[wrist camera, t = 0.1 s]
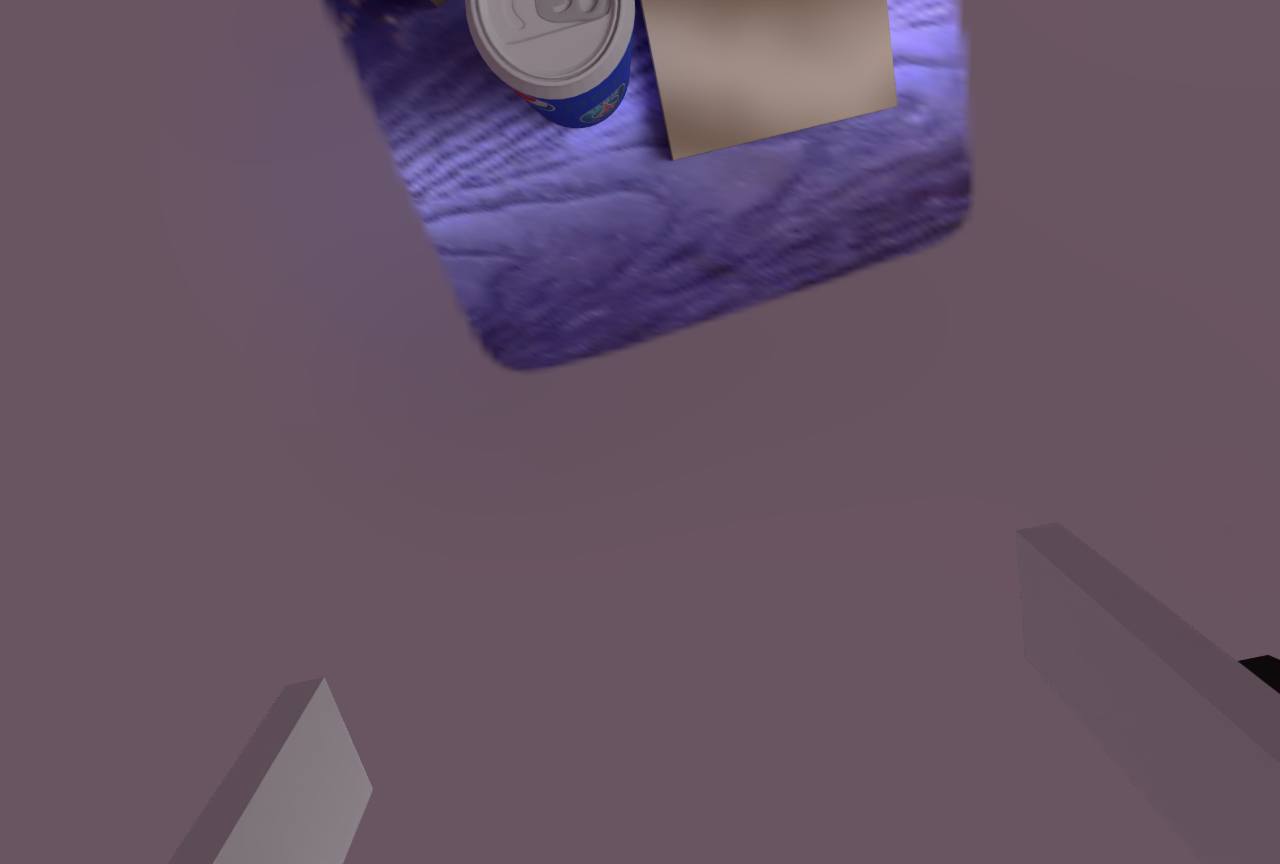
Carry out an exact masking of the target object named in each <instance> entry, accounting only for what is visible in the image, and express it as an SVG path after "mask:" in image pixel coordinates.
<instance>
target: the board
mask: <svg viewBox="0 0 1280 864" xmlns="http://www.w3.org/2000/svg"><path fill="white" fill-rule="evenodd" d="M640 5H641V10H642V15H643V20H644V25H645V30H646V35H647V40H648V45H649V50H650V55H651V60H652V65H653V70H654V75H655V80H656V85H657V90H658V95H659V100H660V105H661V109H662V114H663V119H664V124H665V129H666V134H667V139H668V144H669V149H670V154H671V159H672V161H673V160H677V159H681V158H685V157H690V156H694V155H698V154H702V153H706V152H710V151H714V150H719V149H723V148H727V147H731V146H735V145H739V144H744V143H748V142H752V141H756V140H760V139H764V138H768V137H773V136H777V135H781V134H785V133H789V132H793V131H797V130H802V129H806V128H810V127H814V126H818V125H822V124H827V123H831V122H835V121H839V120H843V119H847V118H851V117H856V116H860V115H864V114H868V113H872V112H876V111H881V110H885V109H889V108H893V107H896V106H898V104H897V95H896V85H895V76H894V66H893V57H892V48H891V38H890V29H889V19H888V10H887V1H886V0H640Z"/></svg>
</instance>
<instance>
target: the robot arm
mask: <svg viewBox="0 0 1280 864" xmlns="http://www.w3.org/2000/svg"><path fill="white" fill-rule="evenodd" d="M1016 543H1017V555H1018V556H1017V557H1018V571H1019V584H1020V599H1021V613H1022V627H1023V641H1024V655H1025V658H1026V659H1027V660H1028V661H1029V662H1030V664H1031V665H1032V666H1033V667H1034V668H1035V669H1036V670H1037V672H1038V673H1039V674H1040V675H1041V677H1042V678H1043V679H1044V680H1045V681H1046V682H1047V684H1049V686H1050V687H1051V688H1052V689H1053V690H1054V692H1055V693H1056V694H1057V695H1058V696H1059V698H1060V699H1061V700H1062V701H1063V702H1064V704H1065V705H1066V706H1067V707H1068V708H1069V709H1070V710H1071V712H1072V713H1073V714H1074V715H1075V716H1076V718H1077V719H1078V720H1079V721H1080V722H1081V723H1082V725H1083V726H1084V727H1085V728H1086V729H1087V731H1088V732H1089V733H1090V734H1091V735H1092V736H1093V738H1094V739H1095V740H1096V741H1097V742H1098V743H1099V745H1100V746H1101V747H1102V748H1103V749H1104V751H1106V753H1107V754H1108V755H1109V756H1110V757H1111V759H1112V760H1113V761H1114V762H1115V763H1116V765H1117V766H1118V767H1119V768H1120V769H1121V770H1122V772H1123V773H1124V774H1125V775H1126V776H1127V778H1128V779H1129V780H1130V781H1131V782H1132V783H1133V785H1134V786H1135V787H1136V788H1137V789H1138V791H1139V792H1140V793H1141V794H1142V795H1143V796H1144V797H1145V799H1146V800H1147V801H1148V802H1149V803H1150V804H1151V806H1152V807H1153V808H1154V809H1155V810H1156V812H1157V813H1158V814H1159V815H1160V816H1161V818H1162V819H1163V820H1164V821H1165V822H1166V823H1167V825H1168V826H1169V827H1170V828H1171V829H1172V830H1173V832H1174V833H1175V834H1176V835H1177V836H1178V838H1179V839H1180V840H1181V841H1182V842H1183V843H1184V845H1185V846H1186V847H1187V848H1188V849H1189V850H1190V852H1191V853H1192V854H1193V855H1194V856H1195V858H1196V859H1197V860H1198V861H1199V862H1200V863H1201V864H1280V660H1279V659H1276V658H1274V657H1272V656H1270V655H1265V656H1260V657H1256V658H1250V659H1246V660H1240V661H1236V660H1235V659H1234V658H1232V657H1231V656H1230V655H1229V654H1227V653H1226V652H1225V651H1224V650H1222V649H1221V648H1220V647H1218V646H1217V645H1216V644H1215V643H1213V642H1212V641H1211V640H1209V639H1208V638H1207V637H1205V636H1204V635H1203V634H1202V633H1200V632H1199V631H1198V630H1197V629H1195V628H1194V627H1193V626H1191V625H1190V624H1189V623H1188V622H1186V621H1185V620H1184V619H1182V618H1181V617H1180V616H1179V615H1177V614H1176V613H1175V612H1173V611H1172V610H1171V609H1169V608H1168V607H1167V606H1166V605H1164V604H1163V603H1161V602H1160V601H1159V600H1158V599H1157V598H1155V597H1154V596H1153V595H1151V594H1150V593H1149V592H1148V591H1146V590H1145V589H1144V588H1142V587H1141V586H1140V585H1139V584H1137V583H1136V582H1135V581H1133V580H1132V579H1131V578H1130V577H1128V576H1127V575H1126V574H1124V573H1123V572H1122V571H1120V570H1119V569H1118V568H1117V567H1115V566H1114V565H1113V564H1112V563H1110V562H1109V561H1108V560H1106V559H1105V558H1104V557H1102V556H1101V555H1100V554H1099V553H1097V552H1096V551H1095V550H1093V549H1092V548H1091V547H1090V546H1088V545H1087V544H1086V543H1084V542H1083V541H1082V540H1081V539H1079V538H1078V537H1077V536H1075V535H1074V534H1073V533H1072V532H1070V531H1069V530H1068V529H1067V528H1065V527H1064V526H1063V525H1061V524H1060V523H1059V522H1055V523H1050V524H1046V525H1040V526H1036V527H1031V528H1026V529H1022V530H1017V531H1016ZM372 790H373V789H372V786H371V784H370V782H369V779H368V777H367V775H366V772H365V770H364V768H363V765H362V763H361V761H360V759H359V756H358V754H357V752H356V749H355V747H354V745H353V742H352V741H351V738H350V736H349V733H348V731H347V729H346V726H345V724H344V722H343V720H342V717H341V715H340V713H339V710H338V708H337V706H336V704H335V701H334V699H333V696H332V694H331V692H330V689H329V687H328V685H327V683H326V680H325V678H318V679H314V680H309V681H304V682H300V683H295V684H290V685H286V686H285V688H284V689H283V690H282V692H281V693H280V695H279V697H278V698H277V699H276V701H275V703H274V704H273V705H272V707H271V708H270V710H269V711H268V713H267V714H266V716H265V717H264V719H263V721H262V722H261V723H260V725H259V727H258V728H257V729H256V731H255V733H254V734H253V735H252V737H251V739H250V740H249V742H248V743H247V745H246V746H245V748H244V749H243V751H242V752H241V754H240V755H239V757H238V758H237V760H236V761H235V763H234V764H233V766H232V767H231V769H230V770H229V772H228V773H227V775H226V776H225V778H224V779H223V781H222V782H221V784H220V785H219V787H218V788H217V790H216V791H215V793H214V794H213V796H212V797H211V799H210V800H209V802H208V803H207V805H206V806H205V808H204V809H203V811H202V812H201V814H200V815H199V817H198V818H197V820H196V821H195V823H194V824H193V826H192V827H191V829H190V830H189V832H188V833H187V835H186V836H185V838H184V839H183V841H182V842H181V844H180V845H179V847H178V848H177V850H176V851H175V853H174V854H173V856H172V857H171V859H170V860H169V862H168V863H167V864H343V862H344V859H345V856H346V854H347V852H348V849H349V847H350V844H351V842H352V839H353V837H354V835H355V832H356V830H357V827H358V825H359V822H360V820H361V817H362V815H363V812H364V810H365V808H366V805H367V803H368V800H369V798H370V795H371V793H372Z"/></svg>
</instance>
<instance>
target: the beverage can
mask: <svg viewBox="0 0 1280 864" xmlns="http://www.w3.org/2000/svg"><path fill="white" fill-rule="evenodd" d="M465 5H466V16H467V21H468V25H469V29H470V33H471V36H472V38H473V41H474V43H475V46H476V48H477V49H478V51H479V53H480V55H481V57H482V58H483V60H484V61H485V62H486V64H487V65H488V66H489V68H490V69H491V70H492V71H493V72H494V73H495V74H496V75H497V76H498V77H499V78H500V79H501V80H502V81H503V82H505V83H506V84H507V85H508V86H509V87H510V88H512V89H513V90H514V91H515V92H516V93H517V94H519V95H520V96H521V97H522V98H523V99H524V100H526V101H527V102H528V103H529V104H530V105H531V106H533V107H534V108H535V109H536V110H537V111H538V112H540V113H541V114H542V115H543V116H544V117H546V118H547V119H549V120H550V121H552V122H554V123H556V124H558V125H561V126H564V127H569V128H585V127H590V126H593V125H596V124H598V123H600V122H602V121H603V120H605V119H607V118H608V117H609V116H610V115H611V114H612V113H613V112H614V111H615V110H616V109H617V108H618V106H619V105H620V103H621V102H622V100H623V98H624V96H625V93H626V91H627V87H628V83H629V76H630V65H631V53H632V42H633V30H634V19H635V0H465Z"/></svg>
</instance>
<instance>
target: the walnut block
mask: <svg viewBox="0 0 1280 864" xmlns="http://www.w3.org/2000/svg"><path fill="white" fill-rule="evenodd" d="M430 1H431V2H432V3H433V4H434V5H435V6H436V7H437V8H438V7H439V6H441V5H442V4H443V3H444V2H446V1H447V0H430Z"/></svg>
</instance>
